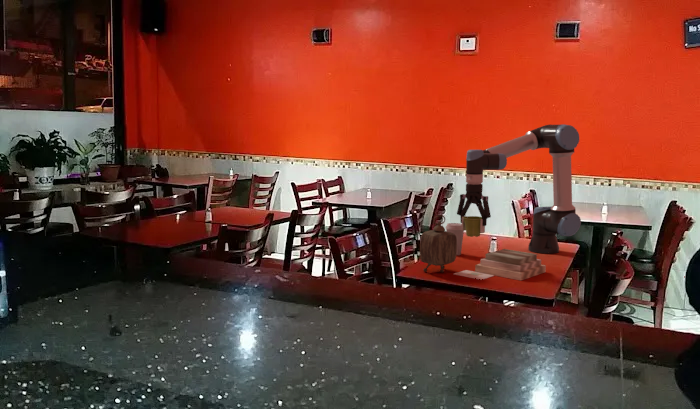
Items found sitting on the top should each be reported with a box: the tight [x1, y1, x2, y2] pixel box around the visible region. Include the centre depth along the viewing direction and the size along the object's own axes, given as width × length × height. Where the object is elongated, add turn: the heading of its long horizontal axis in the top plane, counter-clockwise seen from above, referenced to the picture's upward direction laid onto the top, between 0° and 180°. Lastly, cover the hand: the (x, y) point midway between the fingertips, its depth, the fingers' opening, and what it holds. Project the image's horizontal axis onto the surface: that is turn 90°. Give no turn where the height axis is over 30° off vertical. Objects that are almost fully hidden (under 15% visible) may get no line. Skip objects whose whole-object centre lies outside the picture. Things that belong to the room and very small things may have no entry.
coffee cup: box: [445, 222, 465, 256], centre depth 310 cm, size 10×10×15 cm
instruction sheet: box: [453, 269, 495, 281], centre depth 268 cm, size 10×14×1 cm
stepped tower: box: [474, 248, 547, 281], centre depth 274 cm, size 22×22×8 cm
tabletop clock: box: [419, 214, 457, 273], centre depth 271 cm, size 14×9×25 cm, turn 127°
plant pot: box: [463, 215, 482, 238], centre depth 289 cm, size 9×9×9 cm
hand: (473, 231), depth 290 cm, fingers closed on plant pot, 9 cm apart
